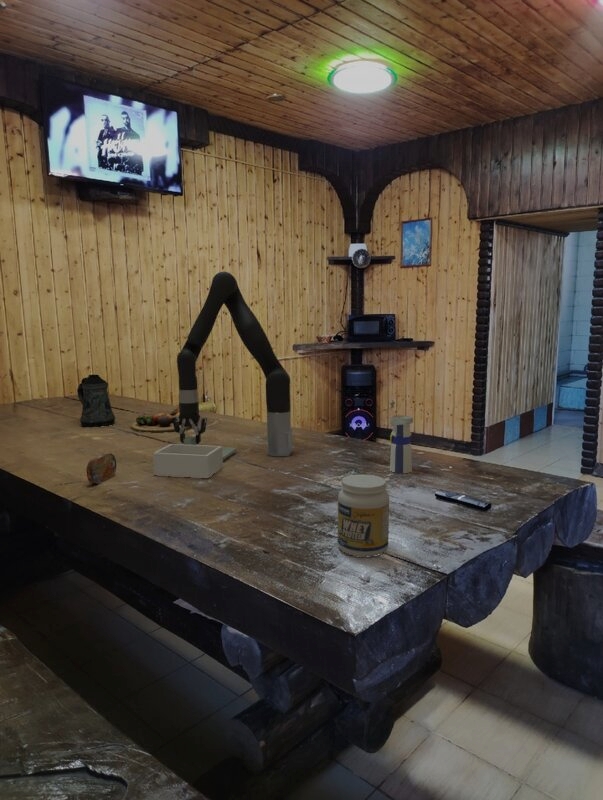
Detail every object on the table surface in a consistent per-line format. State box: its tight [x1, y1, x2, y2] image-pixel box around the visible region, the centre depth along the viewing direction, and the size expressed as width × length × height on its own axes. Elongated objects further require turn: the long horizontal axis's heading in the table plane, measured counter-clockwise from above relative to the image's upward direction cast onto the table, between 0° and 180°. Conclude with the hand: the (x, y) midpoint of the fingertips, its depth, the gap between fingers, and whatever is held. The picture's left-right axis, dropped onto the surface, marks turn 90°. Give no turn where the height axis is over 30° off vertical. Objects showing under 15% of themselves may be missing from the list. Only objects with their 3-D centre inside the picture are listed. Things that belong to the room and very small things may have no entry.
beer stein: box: [76, 374, 116, 428], centre depth 286 cm, size 16×19×25 cm
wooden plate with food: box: [130, 406, 193, 434], centre depth 282 cm, size 32×32×8 cm
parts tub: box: [152, 443, 224, 479], centre depth 203 cm, size 20×14×8 cm
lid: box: [184, 436, 238, 461], centre depth 223 cm, size 20×14×8 cm
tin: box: [85, 452, 117, 485], centre depth 194 cm, size 15×3×8 cm, turn 168°
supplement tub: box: [336, 473, 390, 558], centre depth 136 cm, size 12×12×17 cm
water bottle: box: [389, 399, 414, 474], centre depth 200 cm, size 8×9×25 cm
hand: (190, 443), depth 224 cm, fingers open, 5 cm apart
